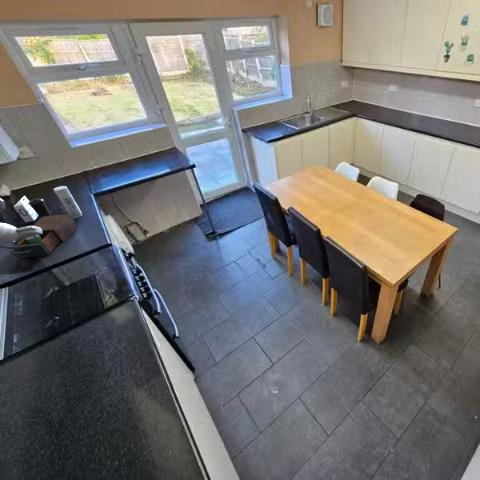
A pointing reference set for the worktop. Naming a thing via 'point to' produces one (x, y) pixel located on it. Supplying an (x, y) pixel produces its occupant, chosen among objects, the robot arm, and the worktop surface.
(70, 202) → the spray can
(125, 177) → the worktop surface
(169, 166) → the worktop surface
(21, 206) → the ink box
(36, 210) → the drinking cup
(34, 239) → the green can
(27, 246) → the drawer
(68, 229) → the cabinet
